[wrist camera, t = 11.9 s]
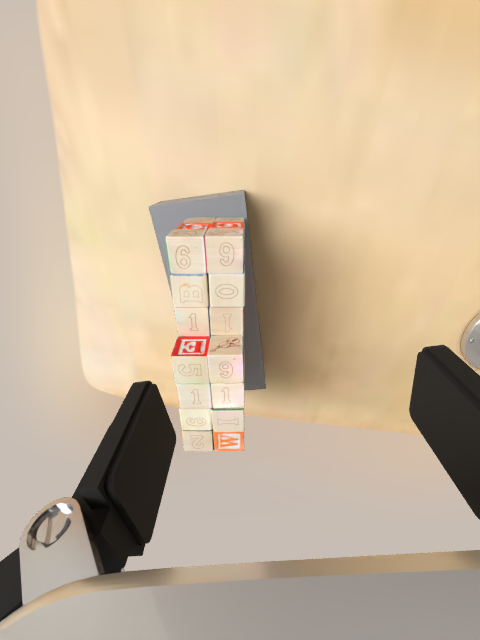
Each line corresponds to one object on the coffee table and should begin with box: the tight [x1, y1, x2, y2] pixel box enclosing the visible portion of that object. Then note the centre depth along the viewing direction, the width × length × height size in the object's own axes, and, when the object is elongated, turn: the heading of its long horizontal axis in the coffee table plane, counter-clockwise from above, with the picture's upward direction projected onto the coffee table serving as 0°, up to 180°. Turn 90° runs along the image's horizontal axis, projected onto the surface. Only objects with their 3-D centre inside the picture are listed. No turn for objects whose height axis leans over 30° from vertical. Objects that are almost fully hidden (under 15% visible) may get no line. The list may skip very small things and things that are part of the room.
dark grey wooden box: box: [149, 190, 266, 390], centre depth 37 cm, size 10×26×5 cm, turn 7°
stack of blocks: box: [165, 217, 245, 451], centre depth 30 cm, size 21×6×12 cm, turn 0°
